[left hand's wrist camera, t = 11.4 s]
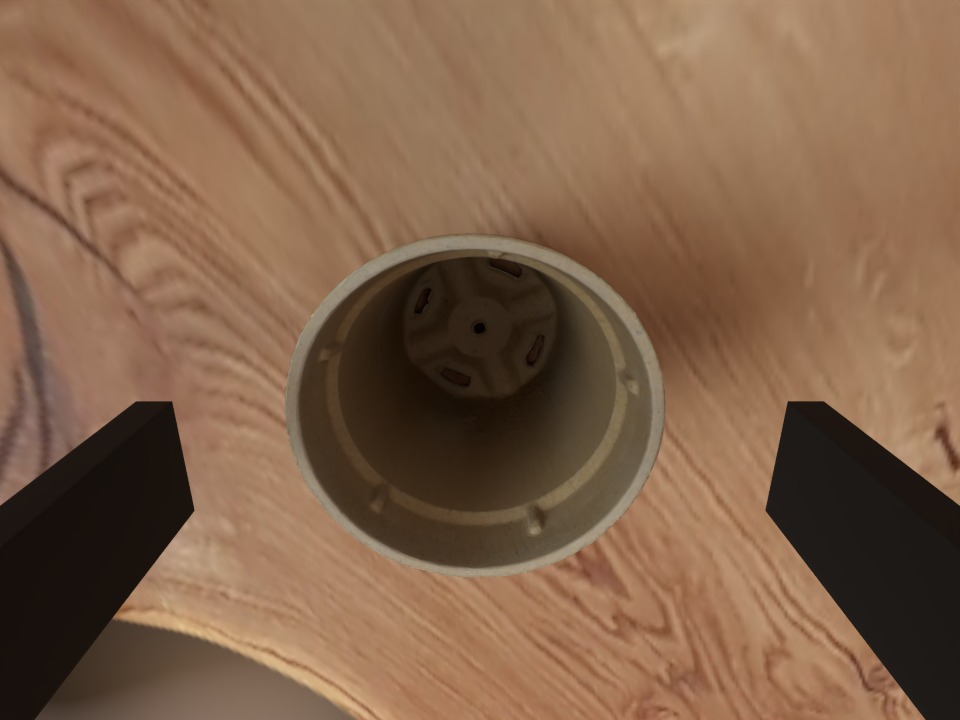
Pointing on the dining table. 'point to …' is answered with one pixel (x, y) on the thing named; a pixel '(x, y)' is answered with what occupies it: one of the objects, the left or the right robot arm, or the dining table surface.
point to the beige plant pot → (475, 406)
